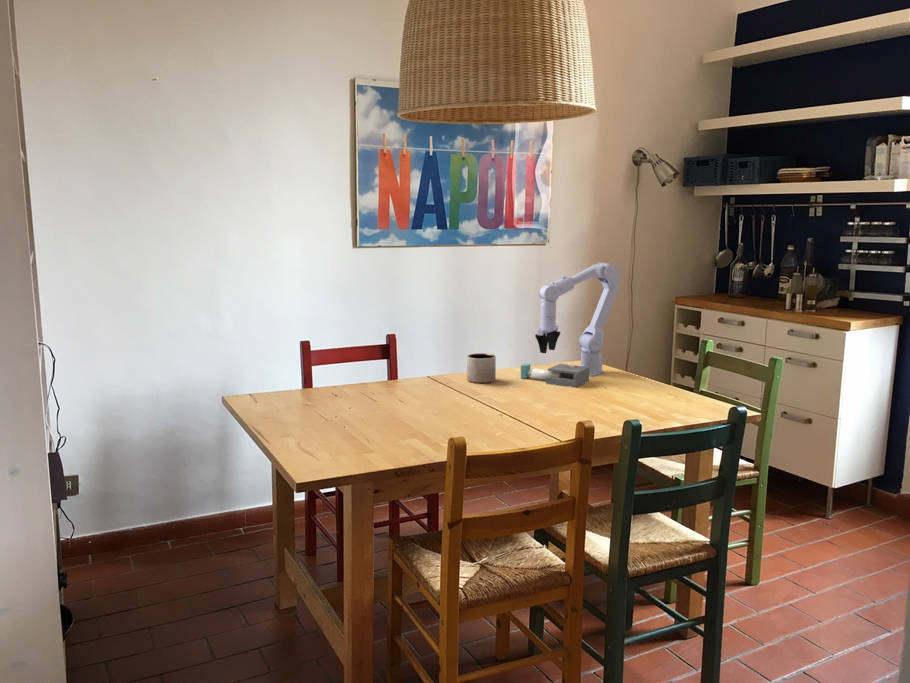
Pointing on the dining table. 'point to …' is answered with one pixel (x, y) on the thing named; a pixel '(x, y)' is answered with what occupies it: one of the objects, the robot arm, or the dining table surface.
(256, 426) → the dining table surface
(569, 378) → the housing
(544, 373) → the cartridge
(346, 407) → the dining table surface
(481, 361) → the planter
